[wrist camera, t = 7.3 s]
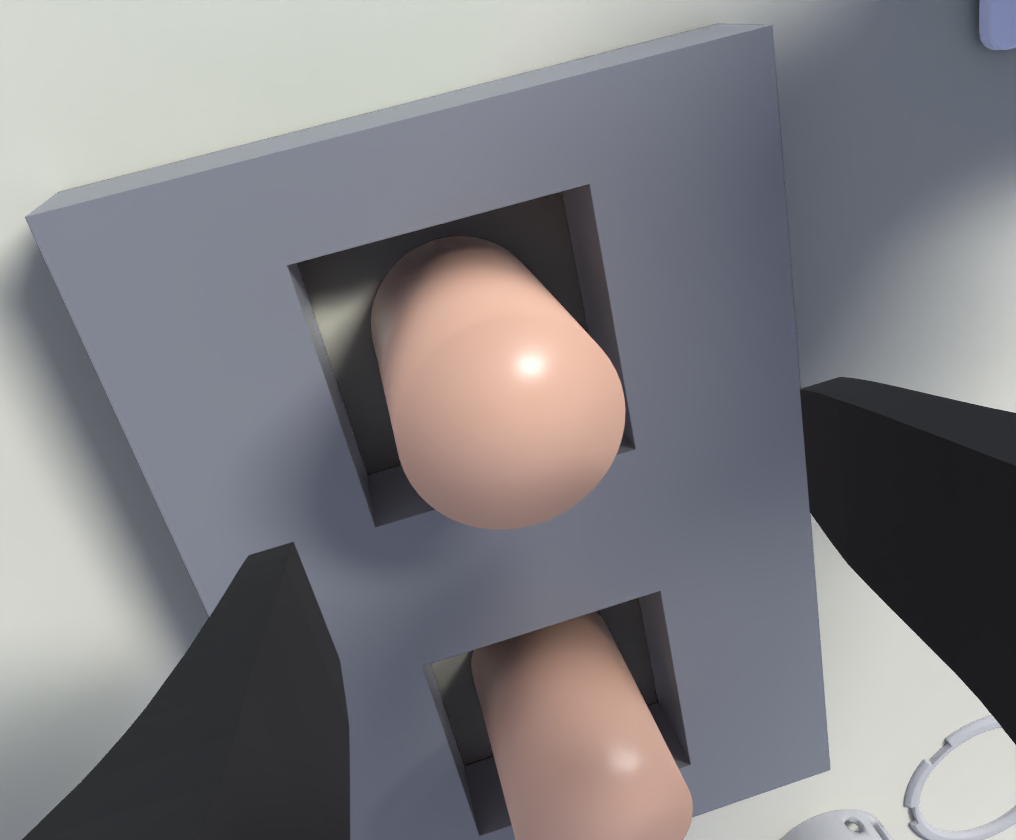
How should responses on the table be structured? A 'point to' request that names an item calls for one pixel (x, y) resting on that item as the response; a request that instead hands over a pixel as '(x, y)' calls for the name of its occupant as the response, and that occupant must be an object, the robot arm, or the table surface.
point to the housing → (388, 494)
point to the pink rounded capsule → (492, 386)
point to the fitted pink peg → (577, 738)
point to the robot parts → (829, 835)
